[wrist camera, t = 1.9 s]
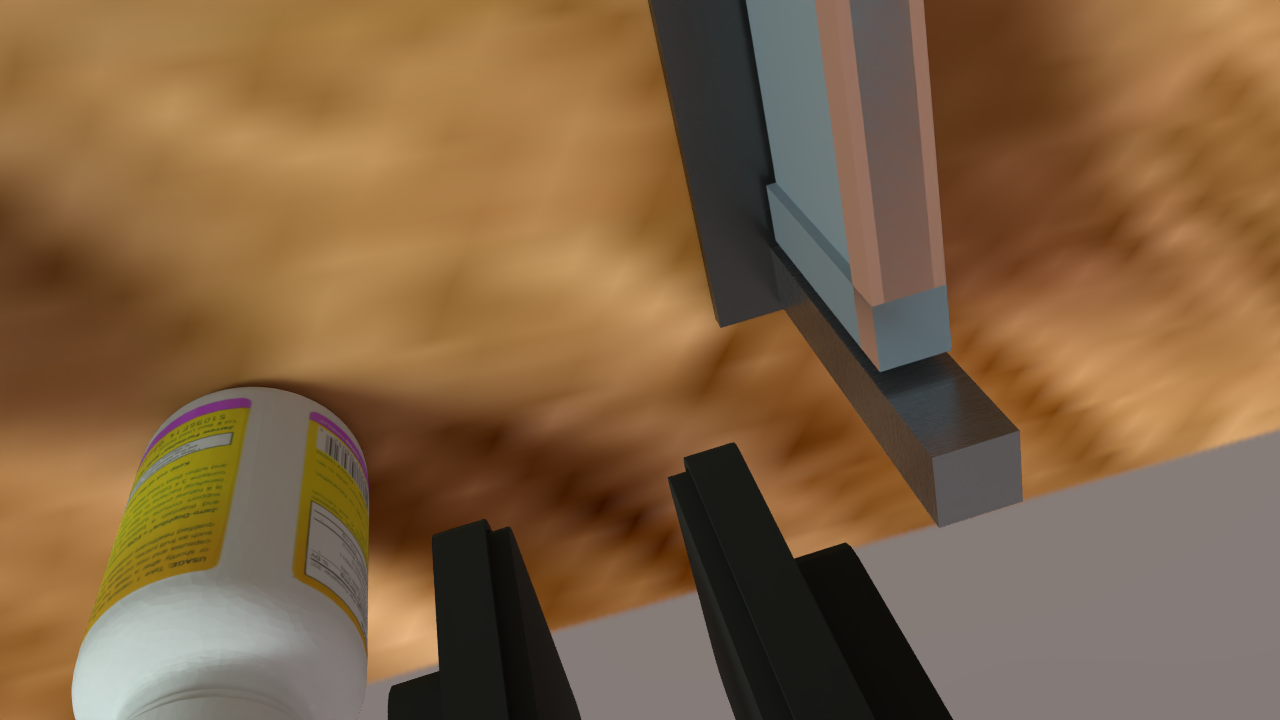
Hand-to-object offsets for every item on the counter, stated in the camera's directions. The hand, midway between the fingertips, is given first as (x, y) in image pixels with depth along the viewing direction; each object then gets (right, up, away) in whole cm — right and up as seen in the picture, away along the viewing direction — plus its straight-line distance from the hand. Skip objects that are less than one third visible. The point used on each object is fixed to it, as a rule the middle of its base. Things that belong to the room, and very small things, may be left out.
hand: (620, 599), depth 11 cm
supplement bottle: (-12, -1, +23) cm, 26 cm away
